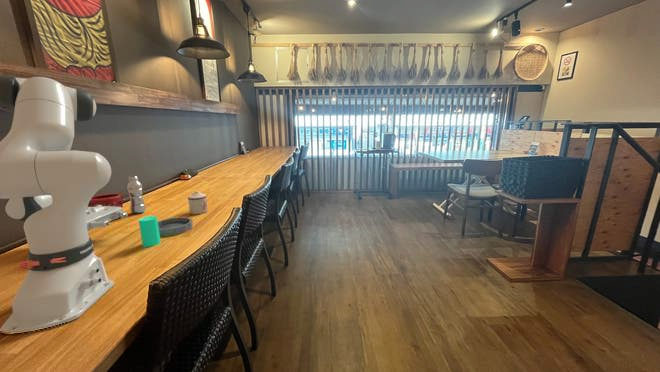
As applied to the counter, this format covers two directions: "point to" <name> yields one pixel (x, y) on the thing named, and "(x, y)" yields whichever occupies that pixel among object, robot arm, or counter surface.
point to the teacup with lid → (197, 203)
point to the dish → (174, 226)
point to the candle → (149, 231)
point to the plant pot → (107, 200)
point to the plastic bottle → (135, 195)
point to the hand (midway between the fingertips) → (116, 219)
